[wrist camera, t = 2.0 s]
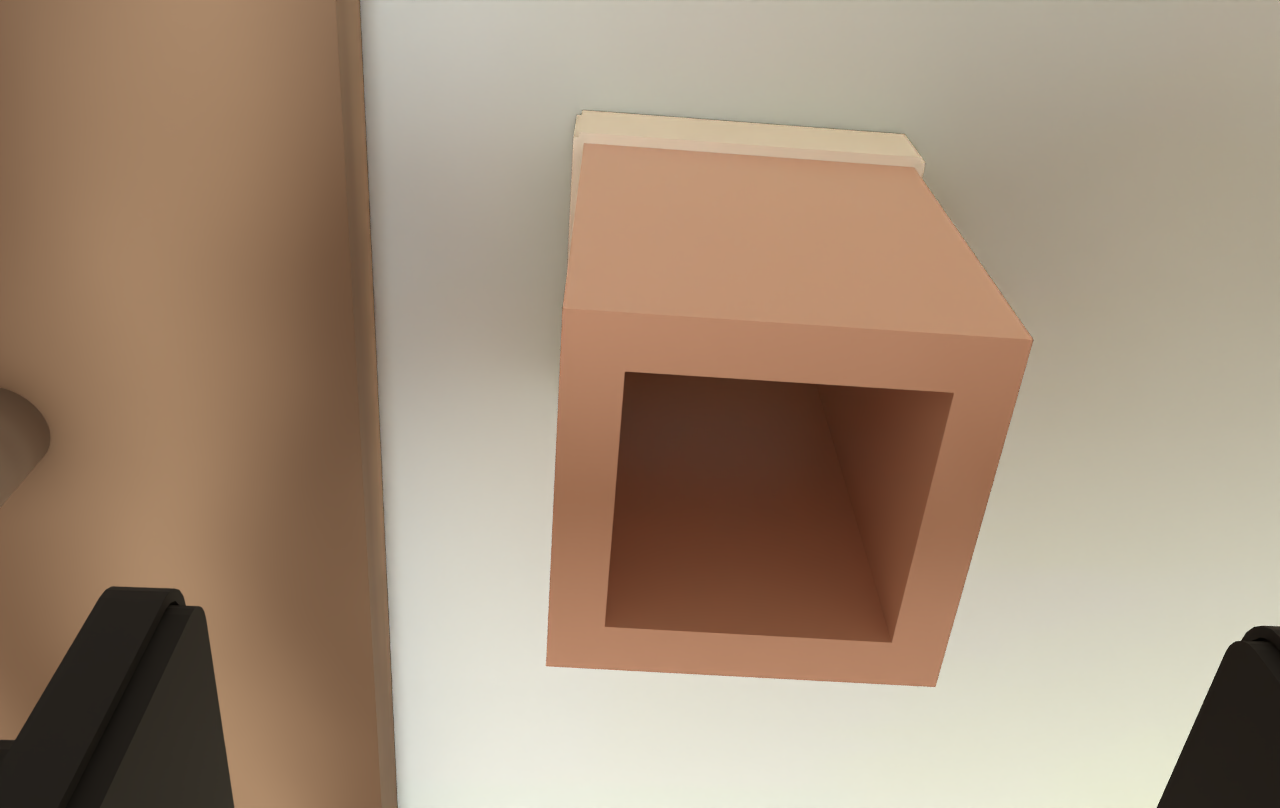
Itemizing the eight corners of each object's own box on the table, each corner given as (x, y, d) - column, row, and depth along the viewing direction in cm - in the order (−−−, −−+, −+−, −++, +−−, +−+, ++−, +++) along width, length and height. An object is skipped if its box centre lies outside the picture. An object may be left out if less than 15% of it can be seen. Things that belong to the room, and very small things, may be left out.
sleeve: (909, 134, 18) (1052, 327, 12) (852, 419, 20) (945, 697, 14) (577, 110, 18) (547, 293, 12) (562, 400, 20) (533, 674, 14)
